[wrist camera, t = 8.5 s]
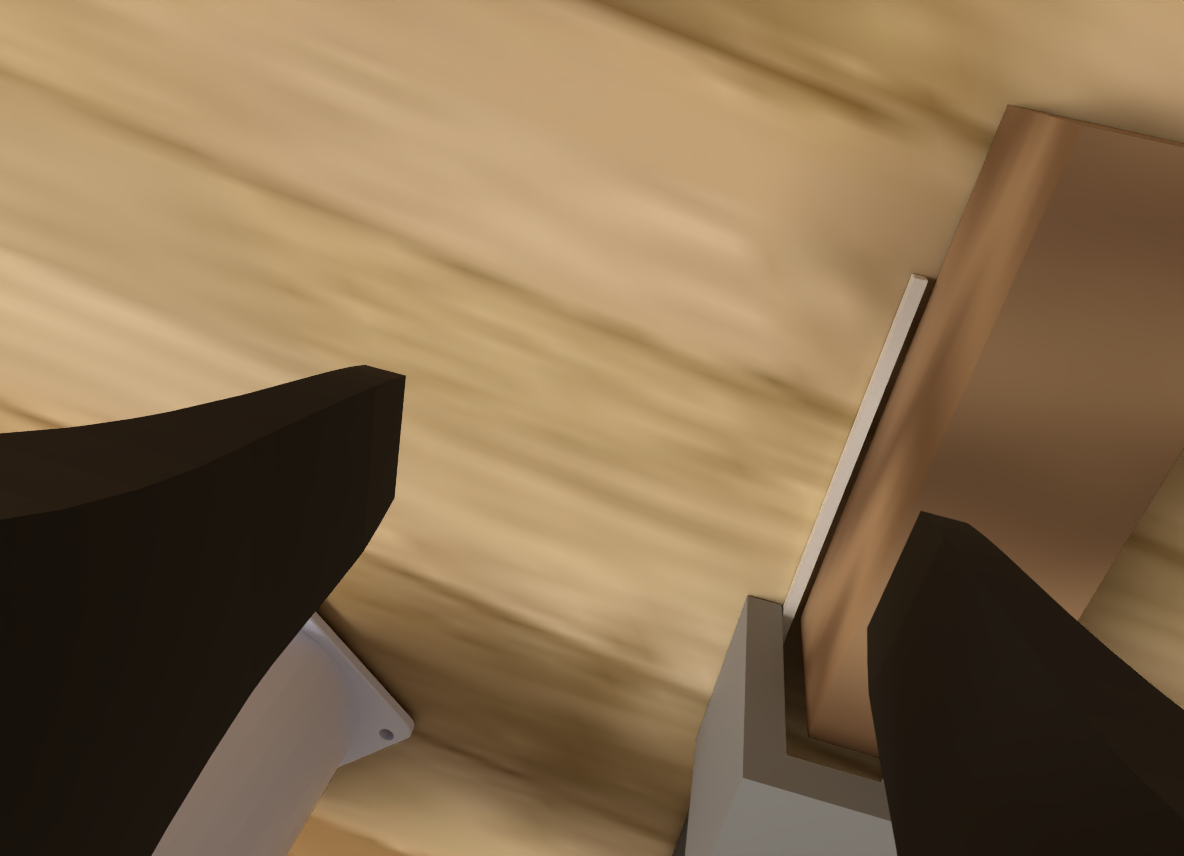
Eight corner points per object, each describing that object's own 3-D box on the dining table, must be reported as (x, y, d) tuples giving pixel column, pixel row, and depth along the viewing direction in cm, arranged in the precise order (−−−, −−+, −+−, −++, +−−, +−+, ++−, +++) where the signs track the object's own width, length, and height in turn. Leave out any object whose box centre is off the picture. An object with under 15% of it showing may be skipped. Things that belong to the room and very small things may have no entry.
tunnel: (895, 844, 26) (932, 1068, 21) (681, 780, 27) (659, 981, 21) (1184, 338, 18) (1379, 478, 12) (867, 262, 19) (913, 362, 13)
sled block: (939, 655, 23) (976, 785, 19) (800, 617, 23) (808, 737, 19) (1205, 147, 16) (1345, 183, 13) (1007, 105, 17) (1083, 125, 13)
